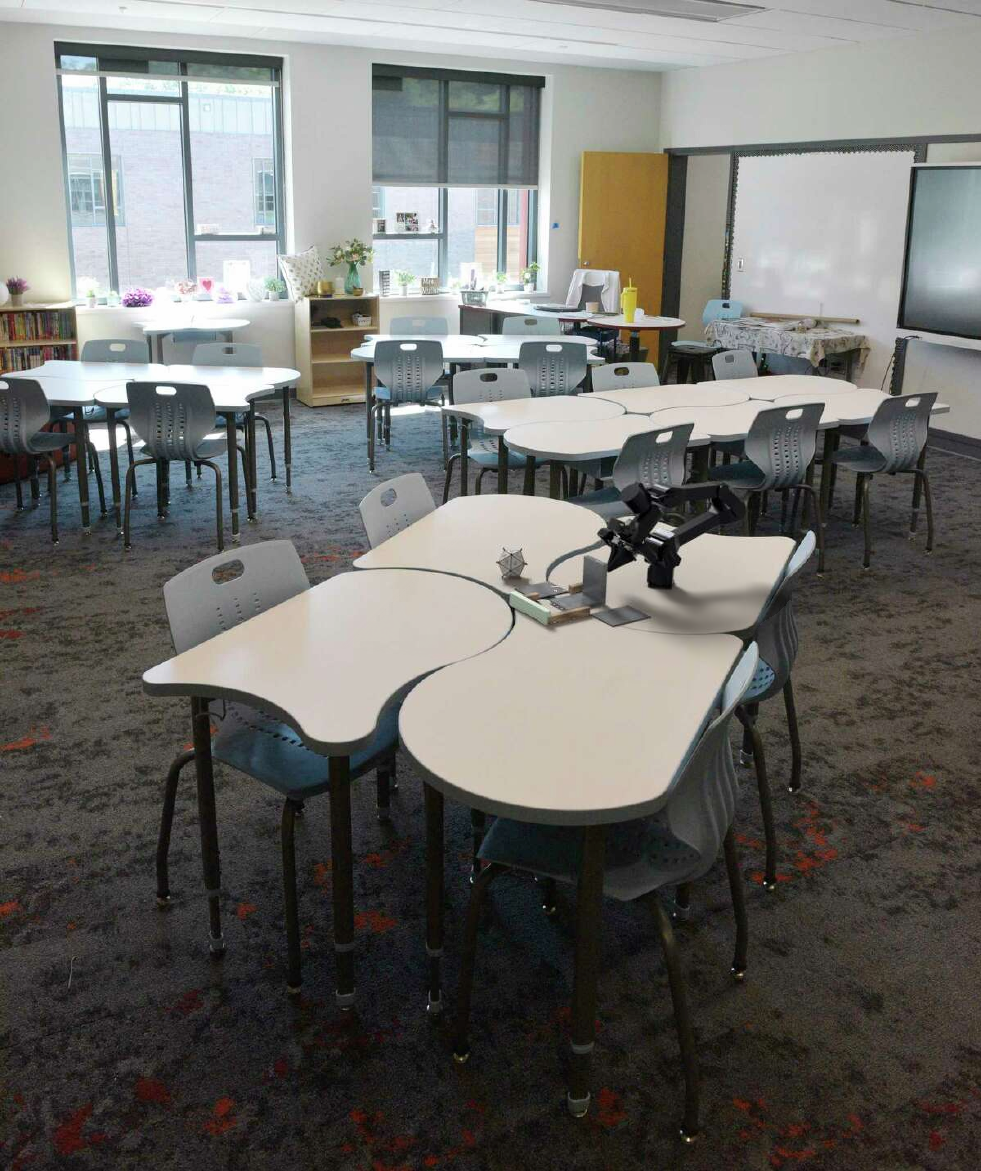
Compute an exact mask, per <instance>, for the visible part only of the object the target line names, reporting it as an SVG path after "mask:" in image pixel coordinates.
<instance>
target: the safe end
mask: <svg viewBox="0 0 981 1171" xmlns="http://www.w3.org/2000/svg"><path fill="white" fill-rule="evenodd" d="M523 595H524V594H522V593H520V592H518V591H516V590H515V591H510V592H509V606H511V607H512V608H514V609H516V610H518V611H519V612H521V613H523V614H524V613H526V614H528V615H529V616H528V615H527V616H528V617H530V616H531V617H530V618H532V617H534V618H535V619H537V620H538V623H540V622H542V623H543V625H544V624H545V625H544V626H548V625H547V623H548V617H551V614H552V610H551V609H549V608H546V607H545V606H543V605H541V604H539V603H537V602H534V601H532V600H530V599H528V598H526V597H525V596H523ZM526 614H525V615H526ZM535 619H534V620H535ZM537 620H536V621H537ZM542 623H541V624H542Z"/></svg>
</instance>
